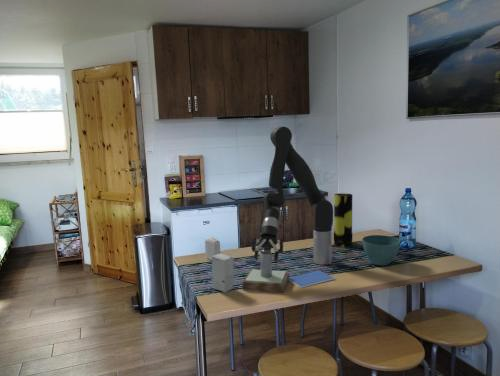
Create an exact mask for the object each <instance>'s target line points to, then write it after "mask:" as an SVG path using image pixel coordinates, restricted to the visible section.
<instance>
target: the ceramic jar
mask: <svg viewBox="0 0 500 376" xmlns="http://www.w3.org/2000/svg"><path fill="white" fill-rule="evenodd" d="M259 255H260V256H259V259H260V270H261V277H265V278H268V277H271V276H272V270H273V268H272V267H273V266H272V265H273V264H272V263H273V262H272V260H273V259H272V249H268V248H263V249H261V251H259Z"/></svg>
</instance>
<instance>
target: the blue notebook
mask: <svg viewBox="0 0 500 376" xmlns="http://www.w3.org/2000/svg"><path fill="white" fill-rule="evenodd" d="M335 279H336V278H335V277H334V276H332V275H329V274H327V273H325V272H323V271H321V270H315V271H311V272H308V273H307V272H306V273H303V274H297V275H294V276H290V277H289V278H288V282H289V283H292V285H294V286H297V287H298V288H300V289H302V288H306V287H310V286H314V285H317V284H322V283H326V282H330V281H334V280H335Z"/></svg>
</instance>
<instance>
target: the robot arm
mask: <svg viewBox="0 0 500 376" xmlns="http://www.w3.org/2000/svg"><path fill="white" fill-rule="evenodd" d="M292 137H293V134H292V131H291V129H290V128H289V127H288V126H278V127H276V128H273V130H272V131H271V132H270V137H269V138H270V141H271V144H272V145H273V146H274V148H275V150H274V156H273V160H272V164H271V166H270V171H269V178H268V187H269V188H272V189H275V190H277V192H276V193H275V192H270V191H268V192H266V193H264V195H263V197H262V201H263V206H264V217H263V221H262V224H261V225H262V227H261V233H260V238H256V237H253V239H252V244H251V251H252V253H253V252H254V256H253V257H254V260H255V261H258V260H259V255H260V252H261V249H264V248H268V249H271V250H273V251H274V258H273V259H274V260H273V261H274V262H277V261H278V260H279V254H283V253H284V240H283V238H280V239H278V233H279V220H280V219H279V218H280V211H279V210H278V209H279V208H280V209H281V208H282V207H284V205H285V194H284V178H285V169H286V167H287V168H288V169H289V172H290V173H291V176H292V178H293V179H294V180H295V182H296V184H297V185H298V186H299V188H300V189H301V191H302V192H303V194H304V195H305V196H306V198H307V201H308V203H309V206H310V207H311V210H312V212H313V213H314V223H313V226H312V227H313V228H312V229H313V233H312V234H313V236H312V240H313V242H312V243H313V247H312V249H313V250H312V251H313V258H312V260H313V263H314V264H316V265H320V266H321V265H323V266H325V265H332V261H333V260H332V259H333V257H332V256H333V252H332V251H333V247H332V245H333V243H332V240H333V239H332V237H333V236H332V231H333V230H332V229H333V226H334V207H333V206H334V205H333V204H332V202H331V201H330V200H327V199H326V198H325V197H324V195H323V193H322V192H321V191H320V190H319V188H318V185H317V182H316V179H315V176H314V174H313V172H312V170H311V168H310V166H309V165H308V163H307V162H306V160H305V159H304V158H303V157H302V156H301V155H300V154H299V153H298V152H297V151H296V149H295V148H294V146H293V144H292V143H291V142H292ZM258 243H259V244H258ZM257 244H258V246H257ZM277 244H278V245H279V249H278V248H277V246H276V245H277Z"/></svg>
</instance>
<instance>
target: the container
mask: <svg viewBox="0 0 500 376" xmlns="http://www.w3.org/2000/svg"><path fill="white" fill-rule="evenodd" d="M333 198H334V200H333V203H334V204H333V206H334V207H333V245H334V246H336V247H338V248H339V247H340V248H349V247H351V246H352V245H353V194H352V193H347V192H346V193H344V192H342V193H341V192H339V193H334V195H333Z"/></svg>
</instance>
